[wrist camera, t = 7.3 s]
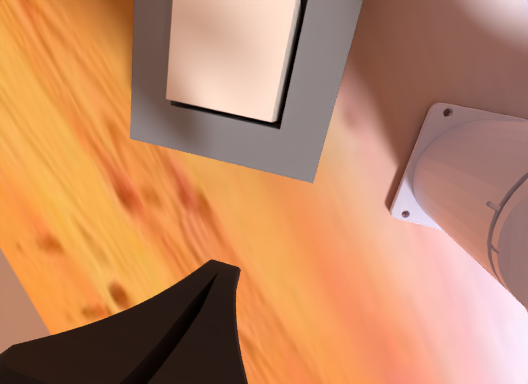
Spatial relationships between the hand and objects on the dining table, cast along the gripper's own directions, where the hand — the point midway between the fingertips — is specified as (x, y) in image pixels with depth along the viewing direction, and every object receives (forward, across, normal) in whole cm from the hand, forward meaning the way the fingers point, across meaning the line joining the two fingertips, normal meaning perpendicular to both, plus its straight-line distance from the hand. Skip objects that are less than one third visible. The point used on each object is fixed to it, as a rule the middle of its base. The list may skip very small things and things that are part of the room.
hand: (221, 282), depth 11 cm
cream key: (+8, +3, -10) cm, 13 cm away
